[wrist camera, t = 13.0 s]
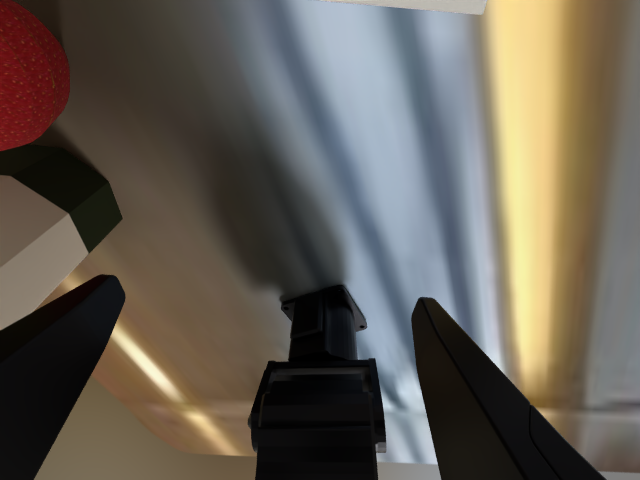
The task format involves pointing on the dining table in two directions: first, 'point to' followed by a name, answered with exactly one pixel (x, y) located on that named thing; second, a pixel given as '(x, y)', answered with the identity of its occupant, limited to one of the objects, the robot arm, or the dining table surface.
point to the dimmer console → (426, 5)
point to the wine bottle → (46, 223)
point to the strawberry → (29, 76)
